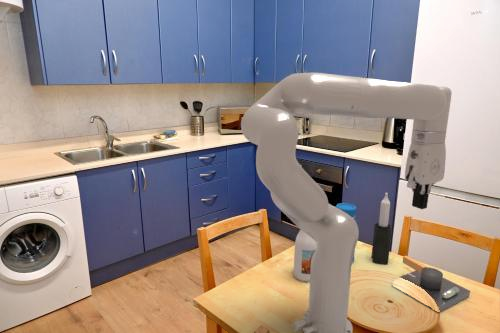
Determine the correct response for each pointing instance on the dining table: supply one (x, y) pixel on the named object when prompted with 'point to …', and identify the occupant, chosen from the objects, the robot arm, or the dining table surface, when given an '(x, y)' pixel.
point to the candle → (382, 235)
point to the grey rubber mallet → (425, 274)
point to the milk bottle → (303, 256)
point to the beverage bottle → (350, 211)
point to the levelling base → (441, 291)
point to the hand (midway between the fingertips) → (419, 207)
